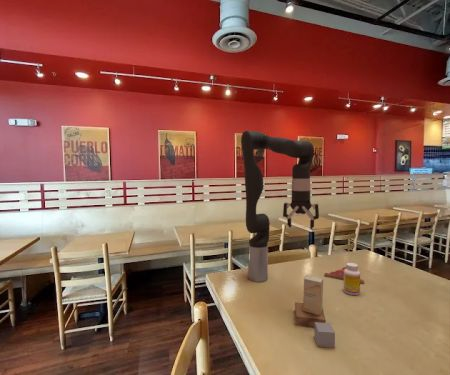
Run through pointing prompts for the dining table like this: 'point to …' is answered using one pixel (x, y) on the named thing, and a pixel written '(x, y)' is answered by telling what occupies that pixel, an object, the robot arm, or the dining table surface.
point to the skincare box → (313, 295)
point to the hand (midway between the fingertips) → (300, 227)
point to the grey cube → (324, 334)
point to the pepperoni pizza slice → (339, 275)
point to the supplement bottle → (351, 279)
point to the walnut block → (307, 317)
